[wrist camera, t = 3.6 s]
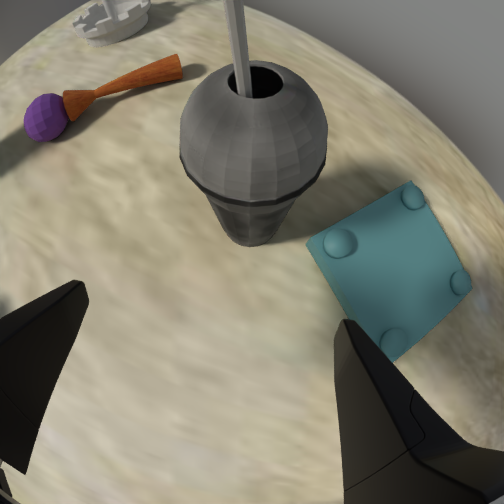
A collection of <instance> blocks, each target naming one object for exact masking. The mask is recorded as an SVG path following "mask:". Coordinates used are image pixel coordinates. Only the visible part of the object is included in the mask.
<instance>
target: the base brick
mask: <svg viewBox="0 0 504 504" xmlns="http://www.w3.org/2000/svg"><path fill="white" fill-rule="evenodd" d="M306 247H307V248H308V250H309V251H310V253H311V255H312V256H313V258H314V260H315V261H316V263H317V265H318V266H319V268H320V270H321V271H322V273H323V275H324V276H325V278H326V280H327V281H328V283H329V285H330V287H331V288H332V290H333V292H334V293H335V295H336V297H337V299H338V300H339V302H340V304H341V306H342V307H343V309H344V311H345V313H346V314H347V316H348V318H349V319H351V320H355V321H356V322H357V323H358V324H359V326H360V327H361V328H362V329H363V330H364V331H365V332H366V333H367V335H368V336H369V337H370V338H371V339H372V340H373V341H374V342H375V344H376V345H377V346H378V347H379V348H380V349H381V350H382V351H383V353H384V354H385V355H386V356H387V357H388V358H389V359H390V361H391V362H392V363H393V362H394V361H395V360H396V359H398V358H399V357H400V356H401V355H403V354H404V353H405V352H406V351H407V350H409V349H410V348H411V347H412V346H413V345H415V344H416V343H417V342H418V341H419V340H420V339H421V338H423V337H424V336H425V335H426V334H427V333H428V332H429V331H430V330H431V329H433V328H434V327H435V326H436V325H437V324H438V323H439V322H440V321H441V320H442V319H443V318H444V317H445V316H446V315H447V314H448V313H449V312H450V311H451V310H452V309H453V308H454V307H455V306H456V305H457V304H458V303H459V302H460V301H461V300H462V299H463V298H464V297H465V296H466V295H467V294H468V293H469V292H470V291H471V289H472V286H471V279H470V276H469V274H468V273H467V272H466V271H465V270H464V269H463V267H462V265H461V263H460V261H459V259H458V257H457V255H456V253H455V251H454V250H453V248H452V246H451V244H450V242H449V240H448V239H447V237H446V235H445V233H444V231H443V230H442V228H441V226H440V225H439V223H438V221H437V220H436V218H435V216H434V215H433V213H432V211H431V210H430V208H429V207H428V205H427V203H426V202H425V200H424V195H423V193H422V191H421V190H420V189H419V188H418V187H417V186H415V185H414V184H413V182H412V181H409V182H407V183H405V184H404V185H402V186H400V187H399V188H397V189H395V190H393V191H392V192H390V193H388V194H386V195H385V196H383V197H381V198H379V199H378V200H376V201H374V202H372V203H371V204H369V205H367V206H365V207H364V208H362V209H360V210H358V211H357V212H355V213H353V214H351V215H350V216H348V217H346V218H344V219H343V220H341V221H339V222H337V223H336V224H334V225H332V226H330V227H328V228H327V229H325V230H323V231H321V232H320V233H318V234H316V235H314V236H312V237H311V238H310V239H309V240H308V242H307V243H306Z"/></svg>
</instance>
